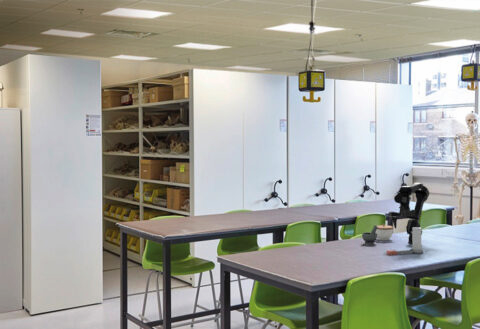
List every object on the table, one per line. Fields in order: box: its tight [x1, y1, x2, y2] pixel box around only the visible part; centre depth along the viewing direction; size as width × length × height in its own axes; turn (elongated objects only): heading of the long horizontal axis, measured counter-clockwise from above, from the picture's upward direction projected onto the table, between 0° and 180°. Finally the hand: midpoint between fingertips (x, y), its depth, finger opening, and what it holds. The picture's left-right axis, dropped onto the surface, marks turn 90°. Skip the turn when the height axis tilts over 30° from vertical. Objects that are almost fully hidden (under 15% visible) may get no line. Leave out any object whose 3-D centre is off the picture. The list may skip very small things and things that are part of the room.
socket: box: [411, 226, 422, 250], centre depth 361 cm, size 5×5×13 cm
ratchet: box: [386, 248, 424, 256], centre depth 359 cm, size 23×7×5 cm, turn 104°
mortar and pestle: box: [361, 225, 378, 246], centre depth 395 cm, size 11×9×12 cm
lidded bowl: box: [375, 223, 394, 242], centre depth 411 cm, size 13×13×11 cm
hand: (402, 229), depth 380 cm, fingers open, 9 cm apart
